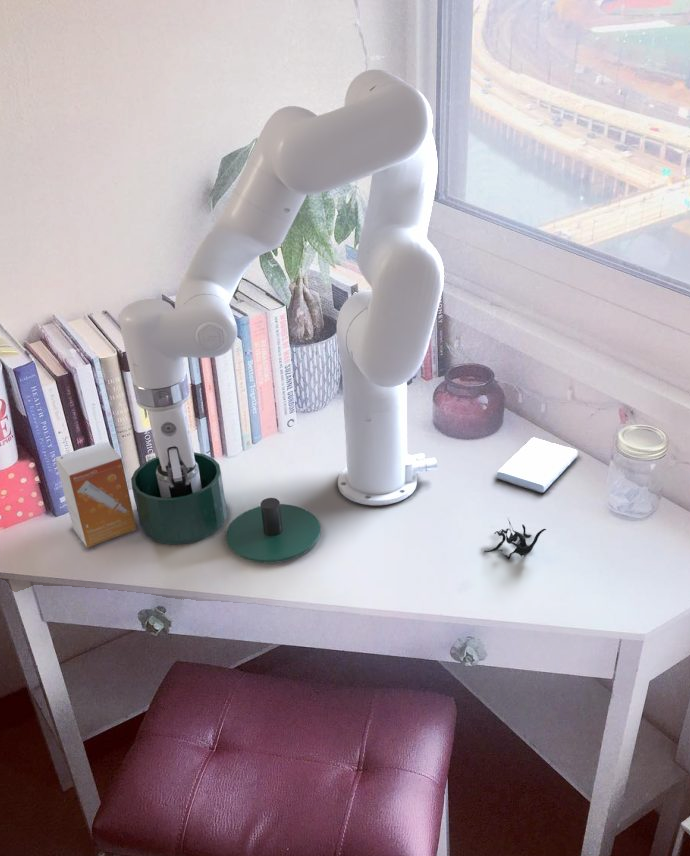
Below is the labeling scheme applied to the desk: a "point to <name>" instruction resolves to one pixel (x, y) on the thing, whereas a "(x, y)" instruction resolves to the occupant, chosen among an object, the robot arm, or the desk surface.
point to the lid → (273, 532)
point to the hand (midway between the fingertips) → (182, 493)
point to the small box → (96, 493)
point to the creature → (522, 546)
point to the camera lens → (164, 479)
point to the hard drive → (537, 465)
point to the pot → (180, 504)
